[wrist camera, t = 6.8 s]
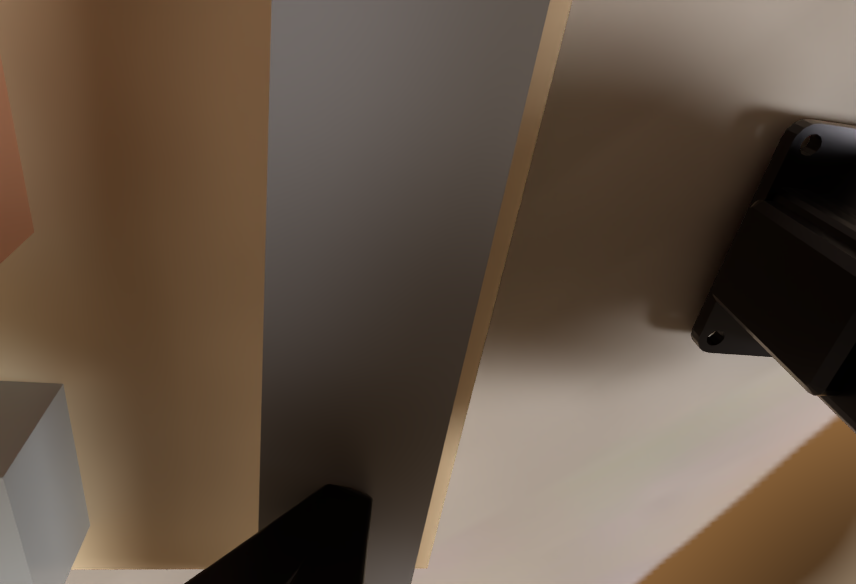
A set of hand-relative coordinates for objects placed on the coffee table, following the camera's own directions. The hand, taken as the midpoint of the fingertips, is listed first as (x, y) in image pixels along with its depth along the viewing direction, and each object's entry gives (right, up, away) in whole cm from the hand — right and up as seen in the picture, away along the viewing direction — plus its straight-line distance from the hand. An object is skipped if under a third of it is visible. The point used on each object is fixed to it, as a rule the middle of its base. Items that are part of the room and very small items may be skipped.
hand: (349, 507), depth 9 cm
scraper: (-1, +2, +4) cm, 4 cm away
